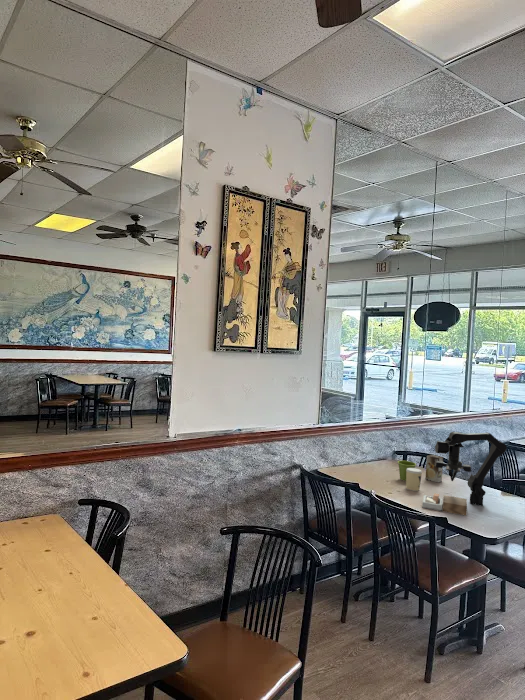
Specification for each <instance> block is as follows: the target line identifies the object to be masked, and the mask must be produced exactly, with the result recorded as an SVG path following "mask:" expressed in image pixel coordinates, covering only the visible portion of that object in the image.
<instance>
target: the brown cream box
mask: <svg viewBox="0 0 525 700" xmlns="http://www.w3.org/2000/svg"><path fill="white" fill-rule="evenodd" d="M442 498H443V499H442V511H441V512H444V513H449V514H456V515H460V516H461V515H462V516H467V510H468V501H467V500H468V499H467V498H462V497H457V496H452V495H451V496H450V495H445V494H443V496H442Z"/></svg>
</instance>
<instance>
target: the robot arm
mask: <svg viewBox="0 0 525 700" xmlns="http://www.w3.org/2000/svg"><path fill="white" fill-rule="evenodd" d="M470 441H471V442H472V441H473V442H475V441H487V442H488V443H489V444H490V449H489V453H488V455H487V457H486V458H485V459H484V461H483V463H482V465H481V466H480V468H479V469H478V470H477V472H476V474H474V475H473V474H470V476H469V478H468V479H467V487H468V488H469V489H470V491H471V493H469V502H470V505H473V506H474V505H475V506H476V505H477V506H481V507H484V496H485V495H486V493H487V492H486V491H485V489H483V486H484V484H485V483H484V482H485V478H486V476H487V475H488V473H489V471H491V469H492V467H493V466H494V464H495V463H496V460H498V458H499V457H500V456H503V455H504V453H505V452H506V451H507V449H508V447H507V445H506V443H505V442H502V441H500V440H499V439H497V438H496V436H494V435H493V434H491V433H490V432H475V433H474V432H471V433H470V432H469V433H465V432H464V433H463V432H460V431H459V432H458V431H451V432H450V433H449V434H448V437H447V438H445V440H444V441H440V440H437V441H436V443H435V445H434V451H435V453H436V454H444V455H445V454H448V457H447V458H448V459H447V460H448V461H447V463H444V460H443V461H436V467H437V468H442V467H443V468H445V469H446V471H448V473H449V476H450V481H451V482H454V480H455V478H456V475H457V473H460V472H461V470H463V471H464V472H468V473H471V472H472V467H471V465H470V464H464V463H463V461H460V451H461V449H460V448H464V445H463V444H462V443H465V442H470Z"/></svg>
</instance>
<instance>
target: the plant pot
mask: <svg viewBox="0 0 525 700" xmlns="http://www.w3.org/2000/svg"><path fill="white" fill-rule="evenodd" d="M397 464H398V470H399V471H398V473H399V480H401V481H405V482H406V469H407V468H416V466H417V463H415V462H414V461H410V460H409V461H408V460H398V461H397Z"/></svg>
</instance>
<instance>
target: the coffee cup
mask: <svg viewBox="0 0 525 700" xmlns="http://www.w3.org/2000/svg"><path fill="white" fill-rule="evenodd" d="M422 473H423V472H422V470H421V469H419V468H416V467H415V468H407V469H406V481H405V487H406V490H409V491H414V492H418V491H420V487H421V481H422Z"/></svg>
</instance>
